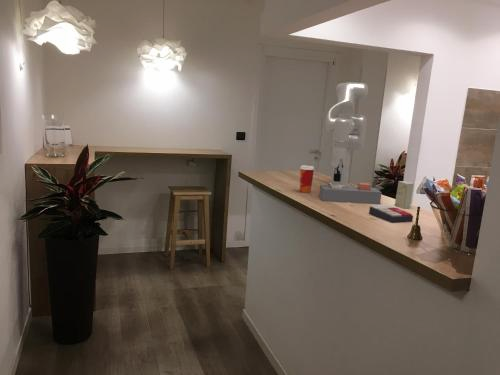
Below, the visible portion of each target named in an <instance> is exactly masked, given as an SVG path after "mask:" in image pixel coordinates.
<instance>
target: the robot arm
mask: <svg viewBox="0 0 500 375" xmlns="http://www.w3.org/2000/svg"><path fill="white" fill-rule="evenodd" d="M335 89H336V90H335V91H336V92H335V94H336V97H337V103H335V104H334V105H333V106H331V108H330V109H328V112H327V114H326V118H325V119H326V120H325V128H324V129H325V131H326V132H328V133H332V134H333V135H332V146H331V147H332V148H333V149H332V152H331V153H332V156H331V161H330V165H331V167H332V173H331V174H332V175H331V181H329V182H328V185H329V184H337V185H341V186H351V184H350V183H349V176H350V175H349V174H350V167H351V166H350V165H351V164H350V163H351V154H350V153H349V152H348V150H351V151H361V150H363V149H364V147H365V142H366V133H367V117H366V116H365V115H364V114H355V108H356V107H355V100H366V98H367V96H368V95H369V86H368V84H367V83H364V82H351V81H350V82H348V81H347V82H342V83H338V84H337V85H336V88H335ZM337 116H338V117H337ZM352 132H355V133H352ZM356 132H357V133H356Z"/></svg>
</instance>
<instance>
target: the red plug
mask: <svg viewBox="0 0 500 375" xmlns="http://www.w3.org/2000/svg"><path fill="white" fill-rule="evenodd" d="M357 187H358V189H359V190H368V191H370V188H372V185H371V183H369V182H358V183H357Z"/></svg>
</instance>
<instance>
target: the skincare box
mask: <svg viewBox="0 0 500 375" xmlns="http://www.w3.org/2000/svg"><path fill="white" fill-rule="evenodd" d="M414 185H415V184H414V183H413V182H409V181H405V180H398V182H397V187H396V188H397V189H396V195H395V202H394V207H397V208H398V207H399V208H401V209H410V208H411V203H412V198H413V191H414Z"/></svg>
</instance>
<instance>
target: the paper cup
mask: <svg viewBox="0 0 500 375" xmlns="http://www.w3.org/2000/svg"><path fill="white" fill-rule="evenodd" d="M299 169H300V172H299V173H300V174H299V177H300V179H299V182H300V183H299V191H300V193H302V192H303V193H304V194H310V193H311V192H312V184H313V178H314V172H315V167H314V165H313V166H312V165H305V164H304V165H300V167H299ZM303 193H302V194H303Z"/></svg>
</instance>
